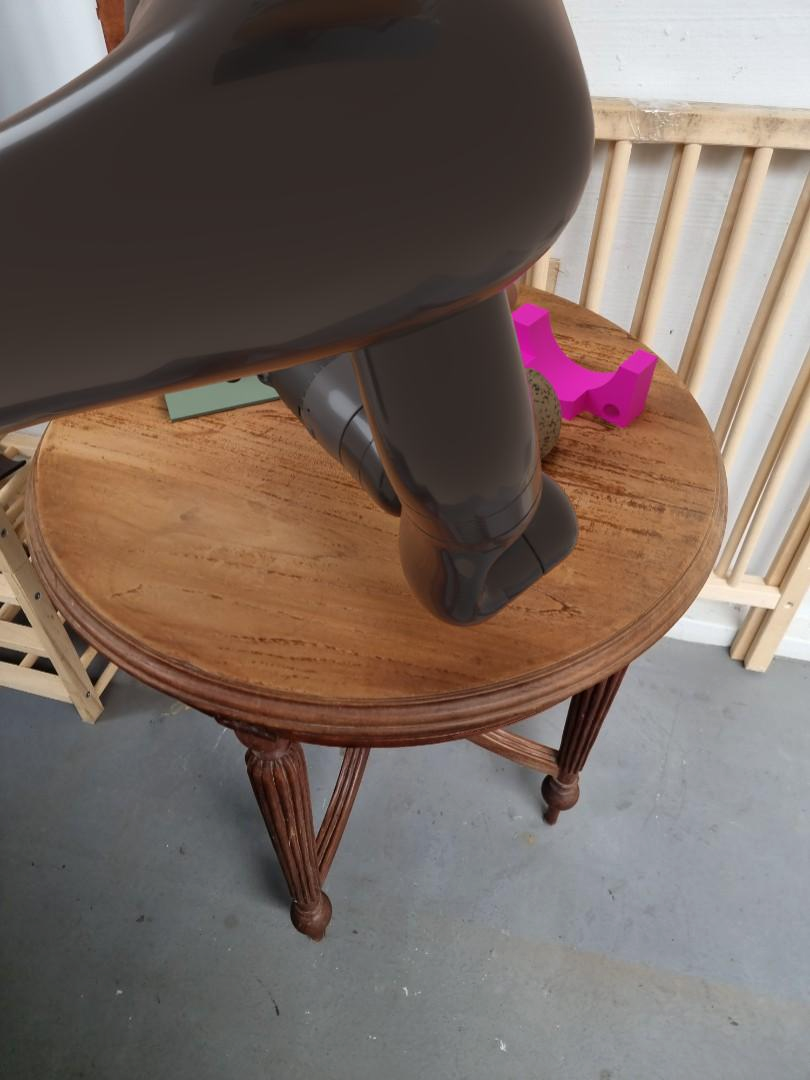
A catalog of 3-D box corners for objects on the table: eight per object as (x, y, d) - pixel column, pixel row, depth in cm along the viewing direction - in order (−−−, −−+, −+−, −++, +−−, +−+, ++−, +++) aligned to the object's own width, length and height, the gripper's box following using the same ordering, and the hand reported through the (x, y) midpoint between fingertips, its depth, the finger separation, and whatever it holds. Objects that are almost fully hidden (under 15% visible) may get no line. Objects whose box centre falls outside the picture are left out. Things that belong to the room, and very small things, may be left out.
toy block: (485, 389, 82) (491, 327, 77) (519, 363, 86) (527, 302, 80) (608, 449, 76) (624, 386, 70) (640, 419, 79) (658, 356, 73)
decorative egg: (565, 447, 76) (582, 360, 69) (538, 491, 72) (553, 404, 64) (498, 425, 78) (507, 339, 71) (468, 467, 74) (475, 380, 67)
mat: (171, 422, 79) (170, 419, 78) (154, 358, 86) (154, 355, 86) (296, 395, 82) (295, 392, 81) (269, 336, 89) (268, 333, 89)
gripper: (430, 327, 55) (315, 231, 65) (260, 385, 50) (164, 272, 60) (426, 412, 61) (321, 311, 70) (273, 472, 56) (183, 355, 66)
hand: (249, 293), depth 65 cm, fingers closed
